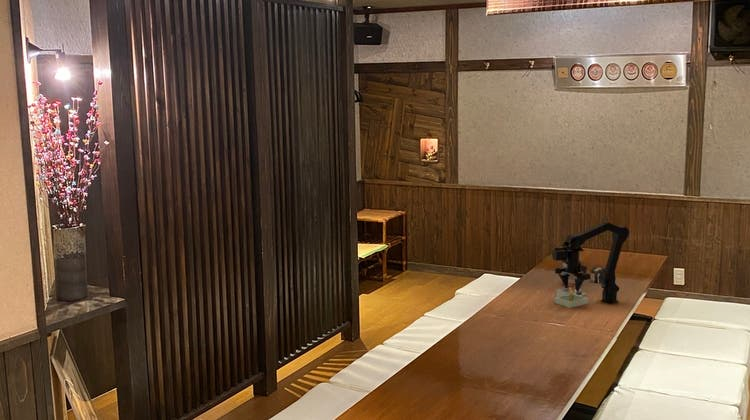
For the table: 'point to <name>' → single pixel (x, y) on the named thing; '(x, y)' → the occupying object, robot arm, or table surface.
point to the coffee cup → (571, 277)
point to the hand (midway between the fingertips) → (571, 290)
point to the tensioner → (566, 291)
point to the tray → (576, 302)
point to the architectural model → (596, 272)
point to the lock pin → (571, 291)
